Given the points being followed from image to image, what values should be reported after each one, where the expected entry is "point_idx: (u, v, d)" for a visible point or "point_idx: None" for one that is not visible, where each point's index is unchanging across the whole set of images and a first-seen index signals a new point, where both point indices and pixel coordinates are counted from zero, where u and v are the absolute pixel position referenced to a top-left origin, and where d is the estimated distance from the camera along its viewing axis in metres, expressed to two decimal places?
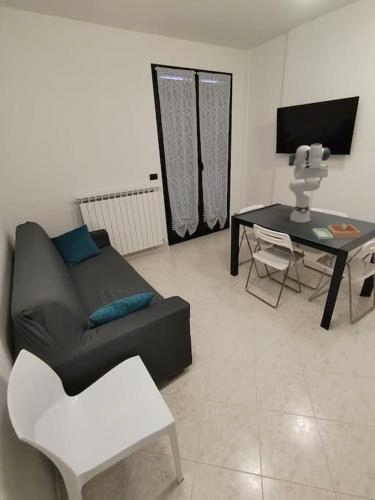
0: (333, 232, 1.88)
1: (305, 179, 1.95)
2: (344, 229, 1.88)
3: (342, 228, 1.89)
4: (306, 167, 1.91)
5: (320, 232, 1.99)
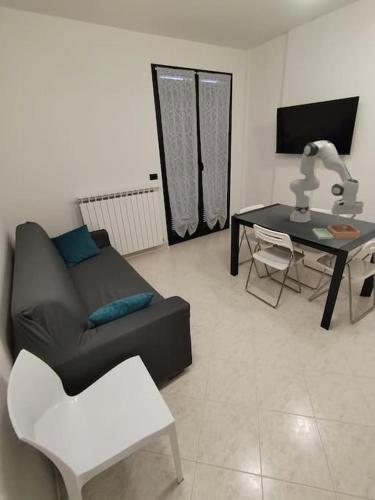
0: (333, 232, 1.88)
1: (337, 215, 1.86)
2: (344, 229, 1.88)
3: (342, 228, 1.89)
4: (340, 204, 1.80)
5: (320, 232, 1.99)
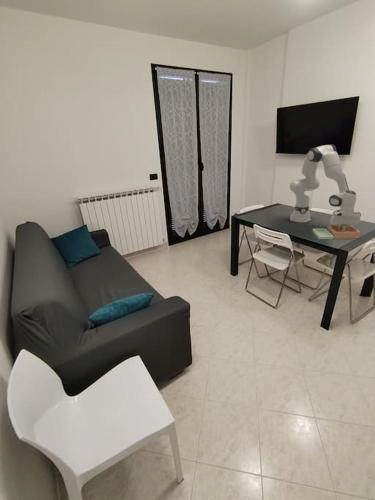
0: (333, 232, 1.88)
1: (338, 225, 1.89)
2: (344, 229, 1.88)
3: (342, 228, 1.89)
4: (338, 215, 1.83)
5: (320, 232, 1.99)
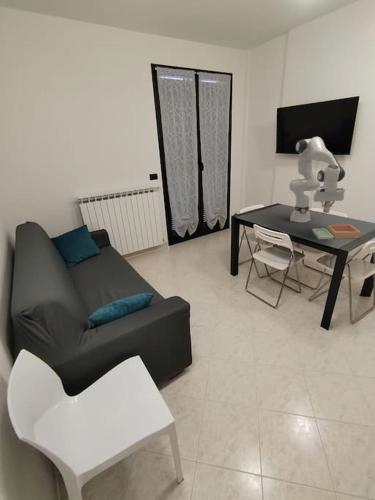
0: (333, 232, 1.88)
1: (322, 202, 1.84)
2: (328, 206, 1.83)
3: (326, 205, 1.84)
4: (321, 191, 1.78)
5: (320, 232, 1.99)
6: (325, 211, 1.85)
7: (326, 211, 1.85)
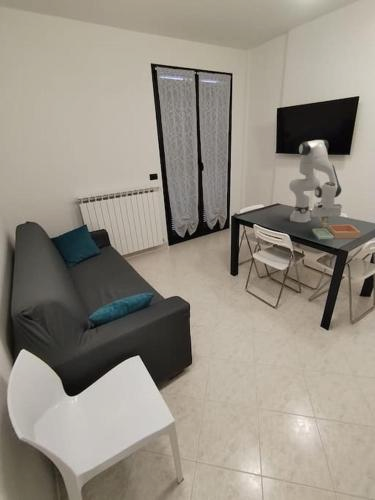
0: (333, 232, 1.88)
1: (320, 217, 1.88)
2: (325, 221, 1.88)
3: (323, 220, 1.88)
4: (318, 207, 1.83)
5: (320, 232, 1.99)
6: (323, 226, 1.90)
7: (324, 226, 1.90)
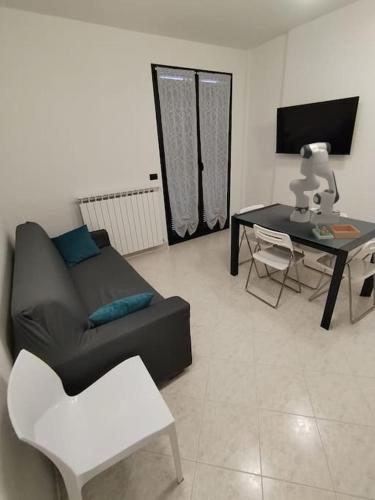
0: (333, 232, 1.88)
1: (316, 224, 1.91)
2: (324, 229, 1.91)
3: (322, 228, 1.91)
4: (317, 213, 1.86)
5: None
6: (321, 234, 1.93)
7: (322, 234, 1.93)
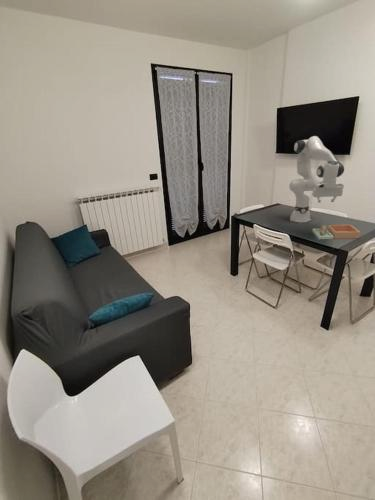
0: (333, 232, 1.88)
1: (318, 198, 1.86)
2: (324, 229, 1.91)
3: (322, 228, 1.91)
4: (320, 186, 1.81)
5: None
6: (321, 234, 1.93)
7: (322, 234, 1.93)
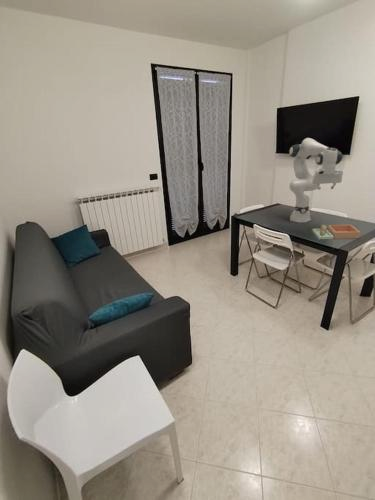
0: (333, 232, 1.88)
1: (318, 185, 1.89)
2: (324, 229, 1.91)
3: (322, 228, 1.91)
4: (320, 173, 1.83)
5: None
6: (321, 234, 1.93)
7: (322, 234, 1.93)
